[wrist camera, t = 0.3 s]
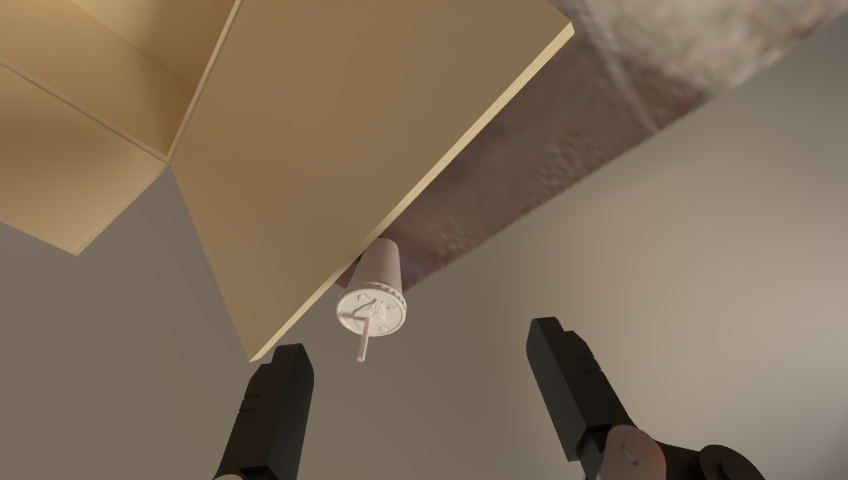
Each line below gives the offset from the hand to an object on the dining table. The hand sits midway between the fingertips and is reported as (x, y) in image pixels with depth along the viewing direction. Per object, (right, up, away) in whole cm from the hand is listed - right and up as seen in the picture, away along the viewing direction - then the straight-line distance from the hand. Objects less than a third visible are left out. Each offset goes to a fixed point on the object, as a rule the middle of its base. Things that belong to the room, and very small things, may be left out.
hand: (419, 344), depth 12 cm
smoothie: (-5, +3, +26) cm, 27 cm away
